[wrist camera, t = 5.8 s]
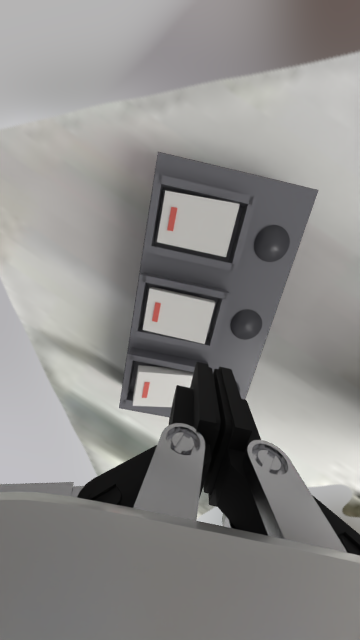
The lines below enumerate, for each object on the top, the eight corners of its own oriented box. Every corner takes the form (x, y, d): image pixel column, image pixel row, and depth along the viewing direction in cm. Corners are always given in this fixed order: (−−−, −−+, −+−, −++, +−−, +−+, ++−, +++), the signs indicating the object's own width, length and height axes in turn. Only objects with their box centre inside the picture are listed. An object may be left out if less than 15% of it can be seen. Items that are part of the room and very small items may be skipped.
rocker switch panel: (296, 199, 23) (330, 184, 18) (228, 407, 31) (237, 440, 25) (162, 168, 22) (155, 142, 17) (127, 388, 30) (115, 417, 25)
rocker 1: (194, 369, 24) (197, 376, 23) (186, 400, 25) (189, 408, 24) (138, 365, 23) (138, 372, 22) (132, 398, 24) (132, 406, 23)
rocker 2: (239, 207, 18) (239, 203, 17) (226, 257, 19) (225, 257, 18) (169, 194, 19) (165, 190, 18) (160, 243, 20) (156, 241, 19)
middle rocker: (214, 300, 21) (215, 303, 20) (204, 339, 22) (204, 344, 21) (152, 286, 21) (149, 288, 20) (145, 325, 22) (142, 330, 21)
